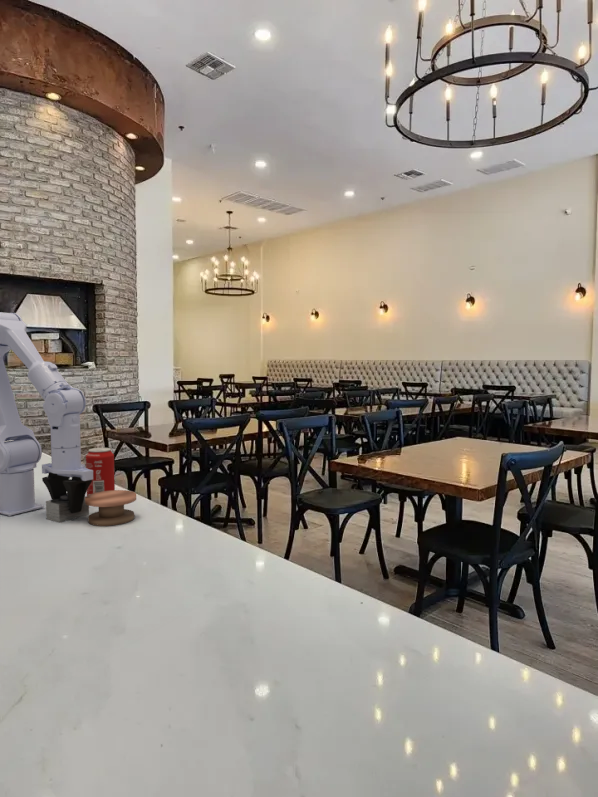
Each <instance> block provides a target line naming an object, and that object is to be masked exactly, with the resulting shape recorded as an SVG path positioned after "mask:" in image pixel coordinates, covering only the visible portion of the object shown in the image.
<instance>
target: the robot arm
mask: <svg viewBox="0 0 598 797" xmlns="http://www.w3.org/2000/svg"><path fill="white" fill-rule="evenodd" d="M10 351H11V352H13V353H14V354H15V355H16V356H17V358H18V359H19V360H20V361H21V363H23V365H24V366H25V367H26V368H27V370H28V372H27V378H28V380H29V381H30V383H31V384H32V385H33V387H34V389H35V390H36V391H37V392H38V394H39V395H40V397H41V398H42V399H43V400H44V401H43V403H42V409H43V411H44V413H45V414H46V416H47V417H46V418H47V423H48V425H49V426H50V450H51V452H50V453H51V456H50V457H51V458H50V459H51V462H49V463H43V464H41V474H45V475H46V474H47V476H44V477H42V480H41V481H42V483H43V484H44V485H45V487H46V489H47V490H48V492H49V493H48V494H49V496H50V500H53V499H58V498H60V495H61V494H64V493H67V494H68V499H69V508H70V512H71V513H77V512H80V511H81V509H82V505H83V501H84V497H85V496H86V495H87V489H88V487H89V485H90V484H91V482H92V479H93V470H90V469H87V468H86V464H83V463H82V449H81V448H82V447H81V446H82V445H81V442H82V441H81V414H82V413H84V411H85V409H86V404H87V403H86V402H87V401H86V397H85V395H84V393H83V391H82V390H81V389H79V388H76V387H73V386H72V385H70V384H69V383H68V382H67V381H66V379H65V378H64V376H63V375H62V374H61V373H60V372H59V370H58V366H57V365H56V363H53V362H51V361H45V360H44V359H43V357H42V356H41V354H40V353H39V351H38V349H37V348H36V346H35V345H34V343H33V341H32V340H31V338H30V337H29V335H28V334H27V324H26V323H25V322H24V321H23V318H22V317H21V316H20V314H18V313H17V312H2V311H1V312H0V514H1V515H5V516H14V515H18V514H23V513H26V512H30V511H36V510H39V509H43V508H44V505H43V504H39V503H36V502H35V501H36V499H35V498H36V496H35V468H37V466H38V465H37V464H38V463H39V462H40V460H41V458H42V455H43V452H42V451H43V450H42V446H41V444H40V442H39V441H38V440H37V438H36V435H35V433H34V431H33V429H31V428H29V427H28V426H26V425H24V424H23V423H22V420H21V416H20V413H19V410H18V407H17V403H16V399H15V396H14V392H13V388H12V386H11V382H10V379H9V375H8V372H7V368H6V365H5V361H4V356H5V354H7V353H9V352H10Z"/></svg>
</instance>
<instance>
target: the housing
mask: <svg viewBox="0 0 598 797" xmlns="http://www.w3.org/2000/svg"><path fill="white" fill-rule="evenodd" d="M86 496H87V495H85V497H86ZM85 497H84V501H83V505H82V509H81V511H80V512H77V513H71V512H70V508H69V499H68V494H67V493H64V494H61V495H60V498H58V499H53V500H52V499H50V500H46V501H45V518H46V520H47V521H51V522H55V523H58V524H59V523H61V524H62V523H64V522H67V521H71V520H74V519H79V518H83V517H86V516H89V515H90V506H89V505H86V503H85Z"/></svg>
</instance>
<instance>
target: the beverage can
mask: <svg viewBox="0 0 598 797" xmlns="http://www.w3.org/2000/svg"><path fill="white" fill-rule="evenodd" d="M85 468H87V469H90V470H93V479H92V482H91V484H90V485H89V487H88V489H87V492H86V496H88V495H90V494H93V493H97V492H102V491H111V490H116V488H115V486H116V483H115V482H116V480H115V454H114V453H113V452H112V449H111V448H110V447H95V448H89V449H88V453H87V454H85Z"/></svg>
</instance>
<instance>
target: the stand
mask: <svg viewBox="0 0 598 797" xmlns="http://www.w3.org/2000/svg"><path fill="white" fill-rule="evenodd" d="M85 496H86V497H85V503H86V505H89V507H95V508H98V511H95V512H93V513H91V514H90V513H89V515H87V516H88V520H87V521H88V523H89V524H90V525H92V526H96V527H112V526H119V525H124V524H128V523H130V522H132V521H133V520H134V519H135V512H134V511H133V510H132V509H125V505H128V504H131V503H134V502H136V501H137V493H136V492H135V491H132V490H127V489H126V490H123V489H121V490H120V489H115V490H111V491H102V492H97V493H93V494H90V495H88V496H87V495H85Z"/></svg>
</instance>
